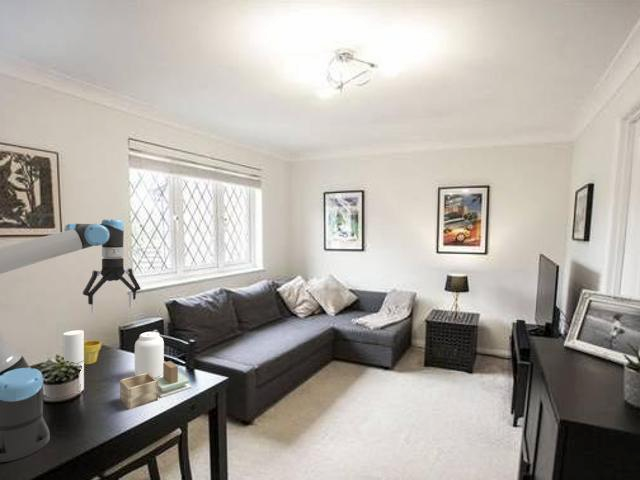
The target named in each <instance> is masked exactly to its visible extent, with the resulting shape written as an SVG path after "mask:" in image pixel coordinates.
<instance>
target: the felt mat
mask: <svg viewBox="0 0 640 480" xmlns="http://www.w3.org/2000/svg"><path fill="white" fill-rule="evenodd" d="M190 389H192V385H191V384H189V383H187V384H184V387H180V388H177V389H174V390H171V391H168V392H165V393H164V392H163V391H161V390H160V389H159V388H158V398H160V399H161V398H166V397H168V396H172V395H175V394H178V393H181V392H185V391H187V390H190Z"/></svg>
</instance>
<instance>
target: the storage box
mask: <svg viewBox="0 0 640 480" xmlns="http://www.w3.org/2000/svg"><path fill="white" fill-rule="evenodd" d="M119 400H120V401H121V403H122V404H123V405H124V406H125V407H126V409H127V410H131V409H134V408H138V407H141V406H145V405H147V404H151V403H153V402H156V401H158V400H159V396H158V380H156V378H154V377H153V376H152V375H151V374H150V373H145V374H141V375H137V376H135V375H134V376H131V377H126V378H122V379H120V380H119Z"/></svg>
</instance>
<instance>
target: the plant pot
mask: <svg viewBox="0 0 640 480" xmlns="http://www.w3.org/2000/svg"><path fill="white" fill-rule="evenodd" d="M101 348H102V341H100V340H96V339H95V340H93V339H91V340H84V365H91V364H94V363H96V362H97V361H98V357H99V352H100V350H101Z"/></svg>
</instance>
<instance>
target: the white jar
mask: <svg viewBox="0 0 640 480" xmlns="http://www.w3.org/2000/svg"><path fill="white" fill-rule="evenodd" d="M164 358H165V342H164V338H163V337H161V336H160V332H158V331H146V332H143V333H140V334H139V337H138V338H137V340H136V341H135V344H134V376H137V375H141V374H145V373H150V374H151V375H152V376H153V377H154V378H155V379H156V378H160V377H162V376H163V363H164V362H165V359H164Z"/></svg>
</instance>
